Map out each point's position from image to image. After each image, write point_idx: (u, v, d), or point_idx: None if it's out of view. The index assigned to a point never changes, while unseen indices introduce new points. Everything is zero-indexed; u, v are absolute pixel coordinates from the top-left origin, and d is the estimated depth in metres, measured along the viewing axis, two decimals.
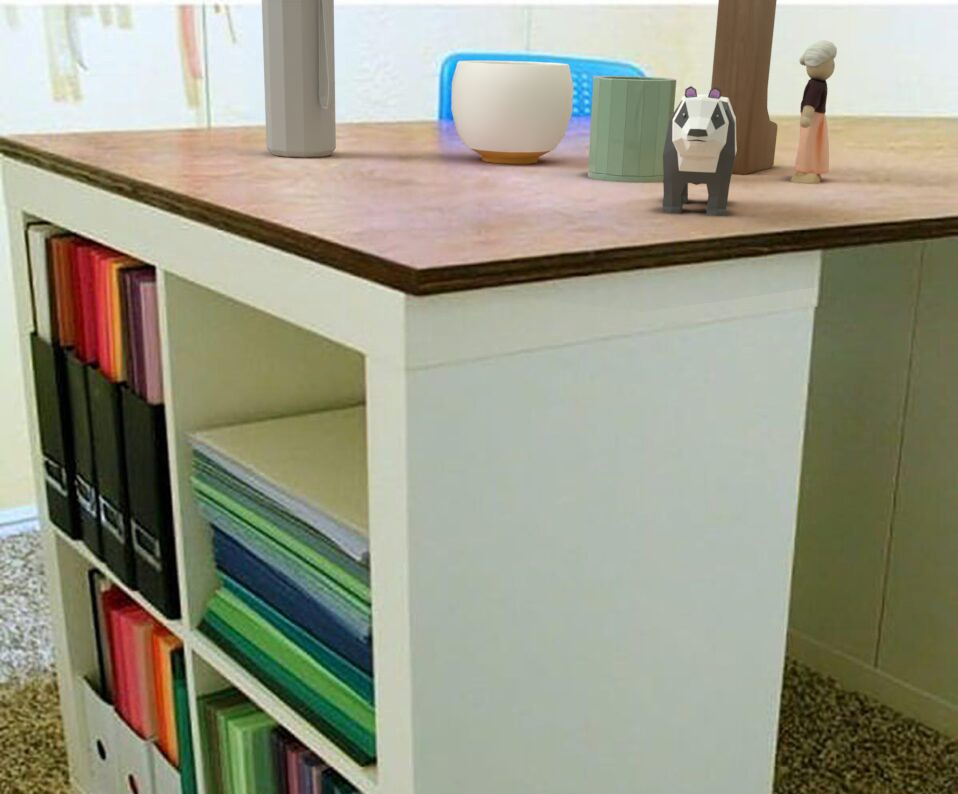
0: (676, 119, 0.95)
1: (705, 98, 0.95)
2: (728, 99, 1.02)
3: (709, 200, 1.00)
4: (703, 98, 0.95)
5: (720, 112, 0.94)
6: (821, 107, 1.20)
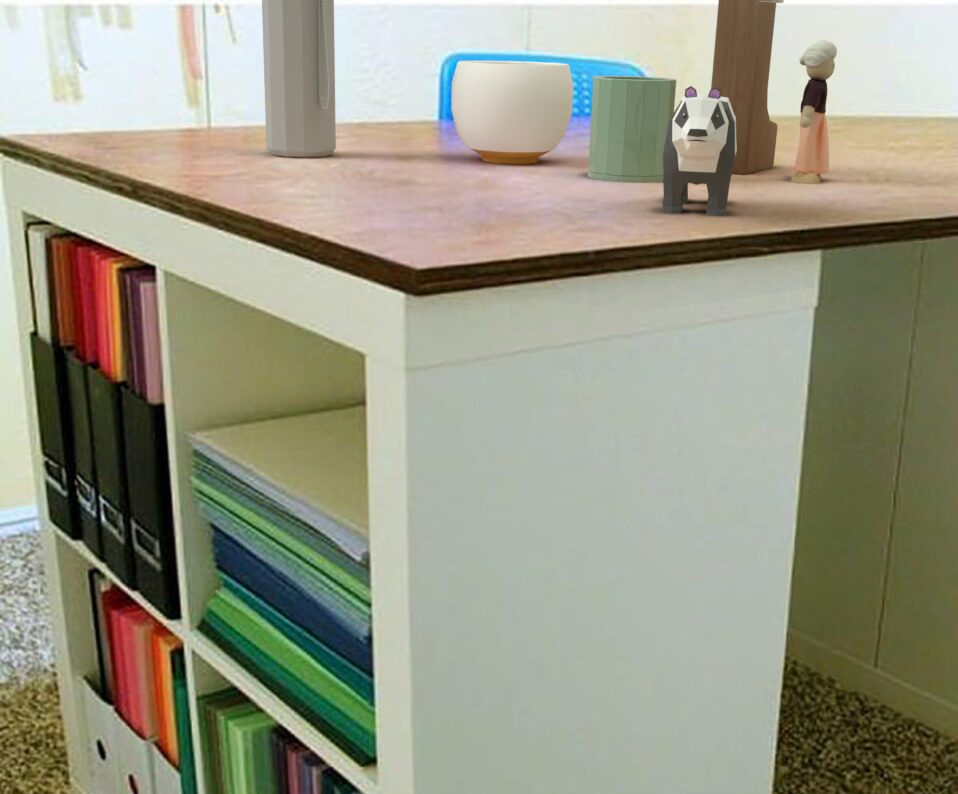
0: (676, 119, 0.95)
1: (705, 98, 0.95)
2: (728, 99, 1.02)
3: (709, 200, 1.00)
4: (703, 98, 0.95)
5: (720, 112, 0.94)
6: (821, 107, 1.20)
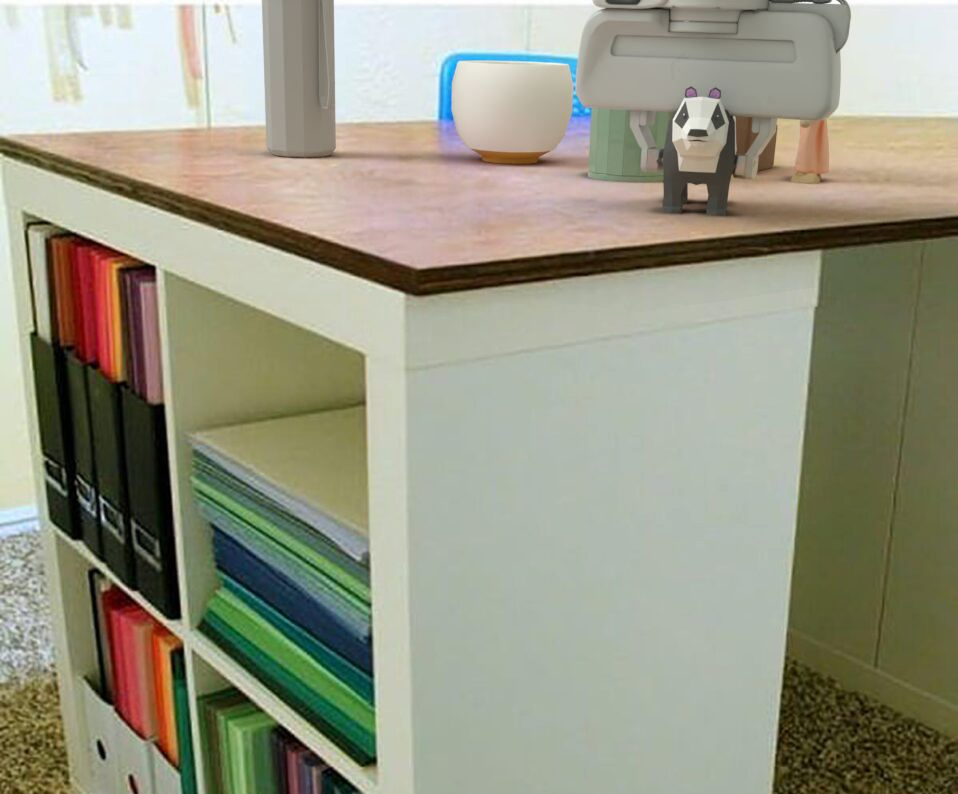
0: (676, 119, 0.95)
1: (705, 98, 0.95)
2: None
3: (709, 200, 1.00)
4: (703, 98, 0.95)
5: (720, 112, 0.94)
6: None
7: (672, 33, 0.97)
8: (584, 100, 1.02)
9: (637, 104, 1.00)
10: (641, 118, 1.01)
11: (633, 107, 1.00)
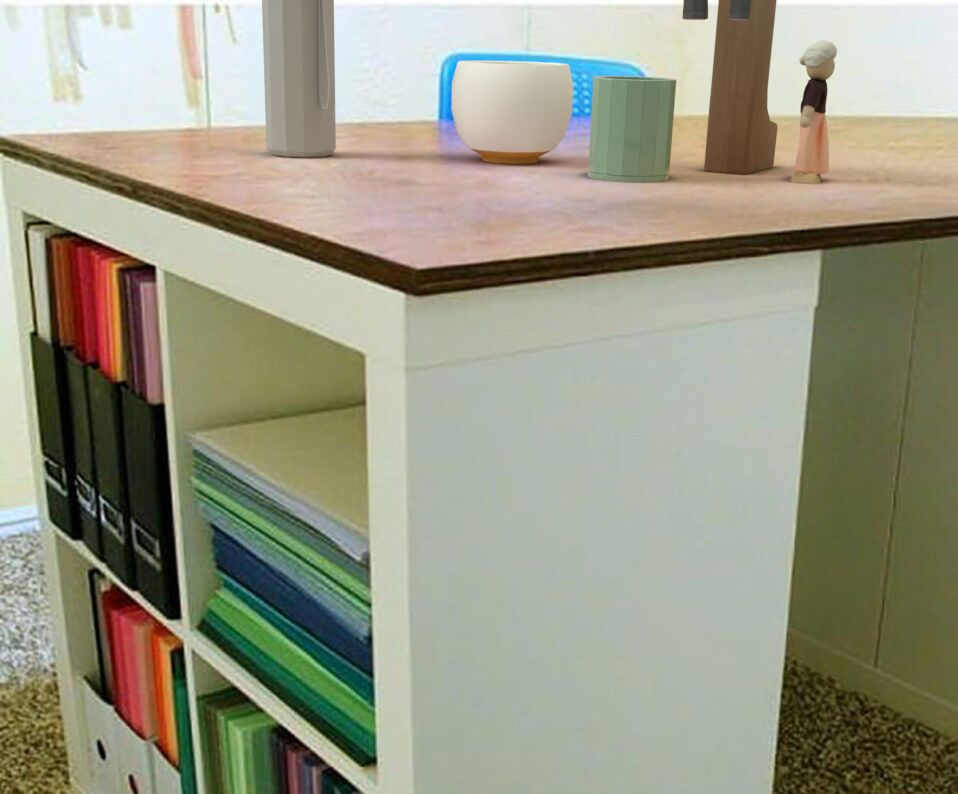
0: None
1: None
2: None
3: (732, 4, 0.95)
4: None
5: None
6: (821, 107, 1.20)
7: None
8: None
9: None
10: None
11: None
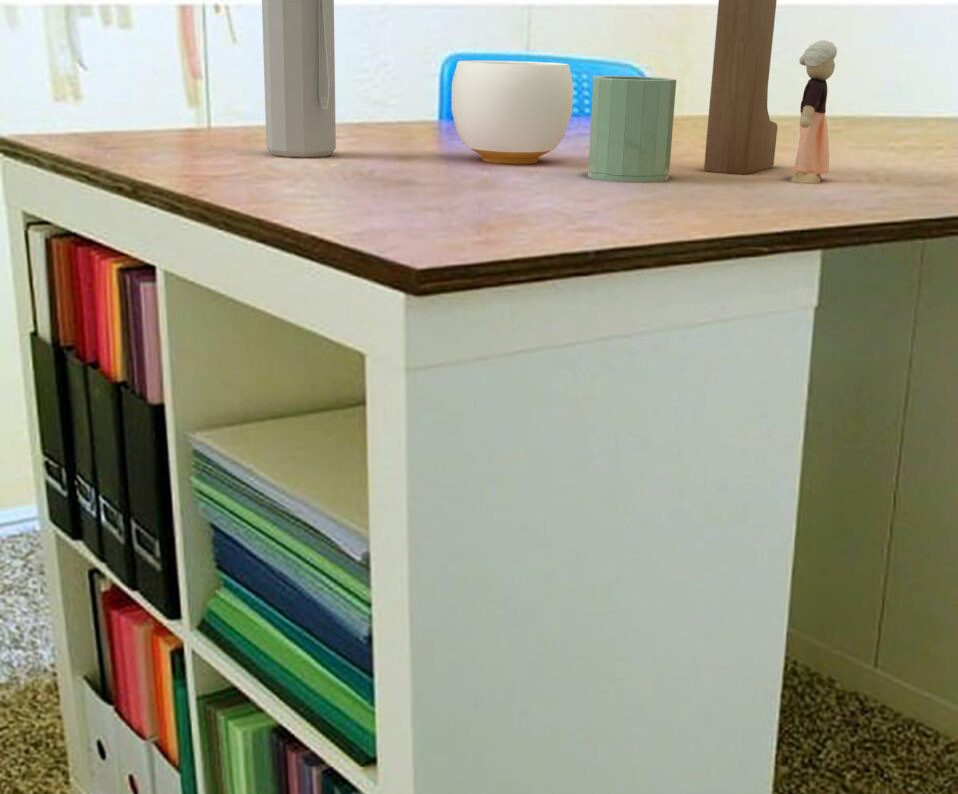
0: None
1: None
2: None
3: None
4: None
5: None
6: (821, 107, 1.20)
7: None
8: None
9: None
10: None
11: None
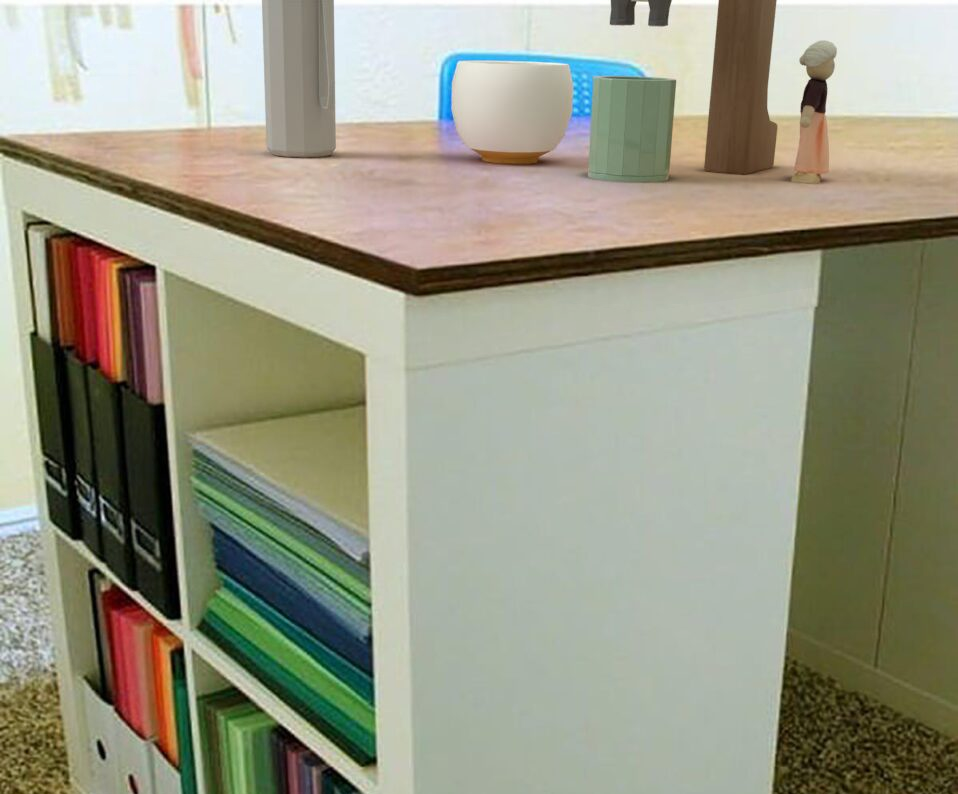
0: None
1: None
2: None
3: (650, 13, 1.15)
4: None
5: None
6: (821, 107, 1.20)
7: None
8: None
9: None
10: None
11: None
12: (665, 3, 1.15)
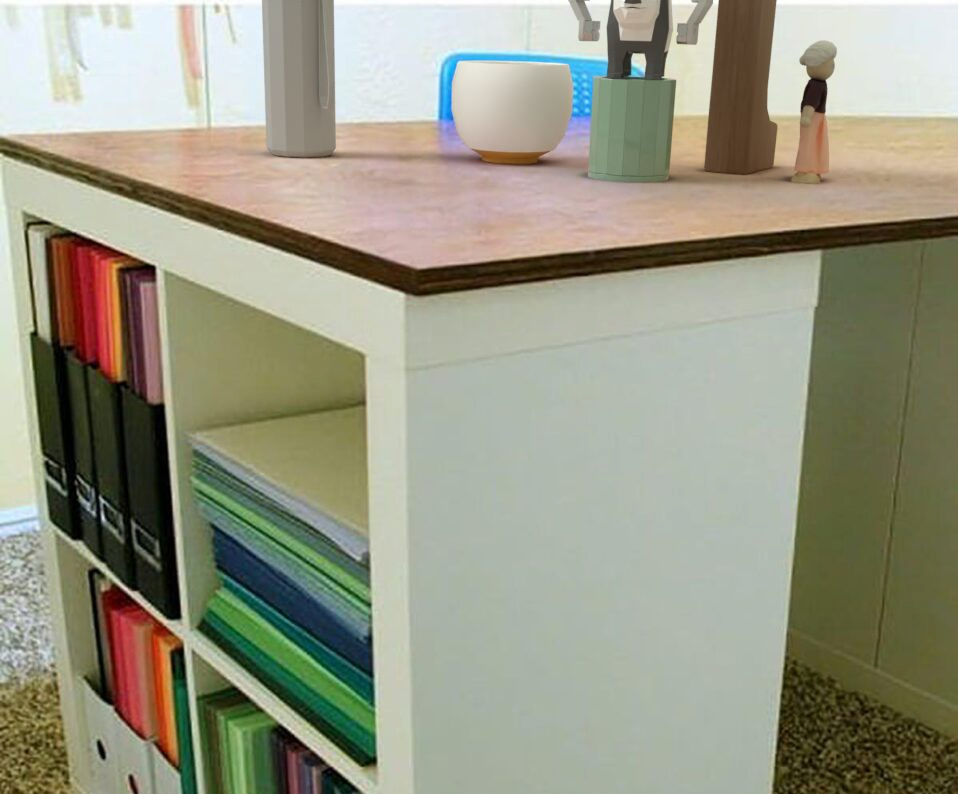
0: None
1: None
2: None
3: (646, 66, 1.17)
4: None
5: None
6: (821, 107, 1.20)
7: None
8: None
9: None
10: None
11: None
12: (661, 57, 1.16)
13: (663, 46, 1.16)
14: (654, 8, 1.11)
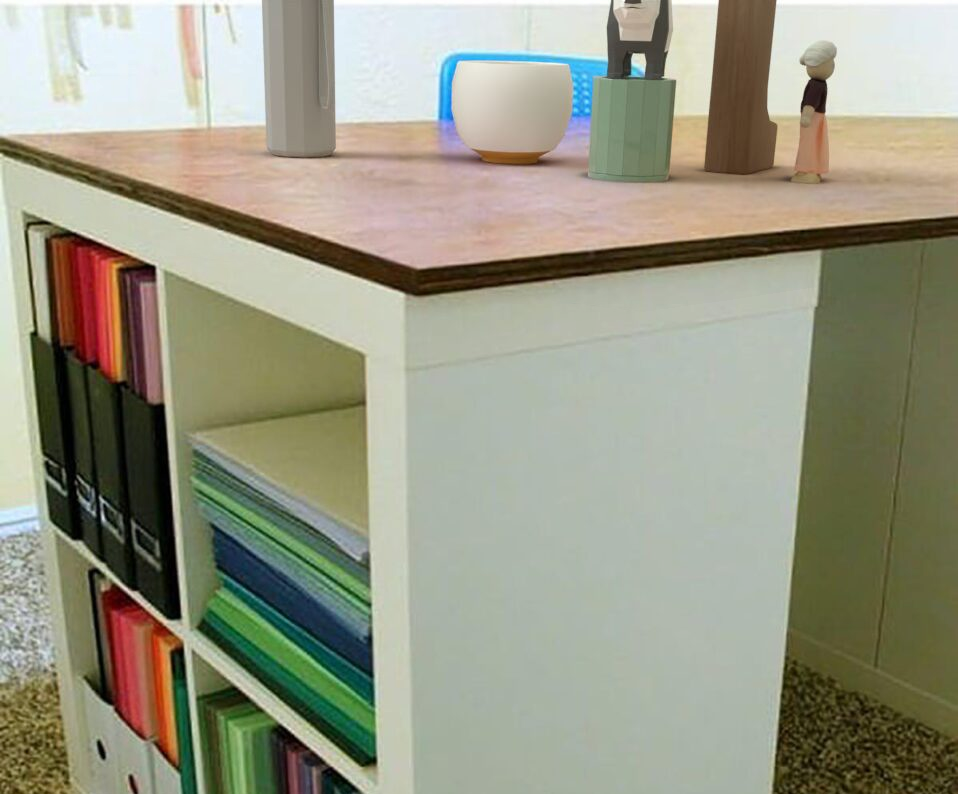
0: None
1: None
2: None
3: (646, 66, 1.17)
4: None
5: None
6: (821, 107, 1.20)
7: None
8: None
9: None
10: None
11: None
12: (661, 57, 1.16)
13: (663, 46, 1.16)
14: (654, 8, 1.11)
